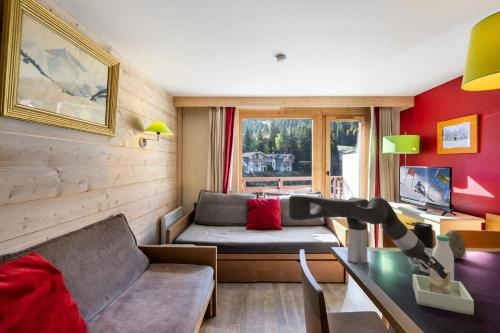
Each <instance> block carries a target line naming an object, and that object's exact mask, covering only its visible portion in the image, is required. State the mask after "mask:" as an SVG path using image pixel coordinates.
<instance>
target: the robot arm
mask: <svg viewBox="0 0 500 333" xmlns="http://www.w3.org/2000/svg"><path fill="white" fill-rule="evenodd" d="M311 204H314V205H316V206H315V207H313V208H312V209H311ZM288 216H289V218H290V219H291V220H293V221H307V220H313V219H314V220H315V219H329V218H330V219H333V218H346V223H347V227H348V228H347V230H348V232H347V240H348V241H347V261H348V262H350V263H354V264H366V263H368V224H371V225H380V224H381V229H382V231H383V232H384V234H386V235H387V236H388V238H390V240H391V241H392V242H393V243H394V245H395V246H396V247H397V248H398V249H399V250H400V251H401V252H402V253H403V255H405V257H407V258H408V257H409V258H411V260H414V261H416V262H417V263H418V264H419V263H420V265H421V266H422V267H423V268H424V269H426V270H427V269H428V268H432V269H433V270H434V271H435V272H436V273H437V274H438V275H439V276H440V277H441V278H442V279H445V278H446V277H447V276H448V275H447V274H446V273H445V271H444V269H445V268H444V267H443V266H442V265H441V264H440V263H439V262H438V261H437V260H436V259H435V258H434V257H433V256H432V257H430V256H429V254H428V253H426V252H424V250H425V246H424V244H423V243H422V242H421V241H420V240H419V239H418V238H417V237H416V235H415V234H414V233H413V232H414V231H412V230H411V229H409V228H408V227H407V226H406V225H405V224H404V222H402V220H400V219H399V217H398V215H397V214H396V212H395V210H394V209H393V206H391V204H390V203H389V202H388V201H387V200H386V199H385V198H383V197H379V196H374V197H371V198H370V199H369V200H368V199H365V198H360V197H350V198H348V199H343V198H335V197H334V198H333V197H331V198H329V197H324V196H323V197H321V196H315V195H307V194H294V195H293V194H291V195H290V196H289V198H288ZM367 223H368V224H367ZM428 263H429V264H430V265H429V264H428Z"/></svg>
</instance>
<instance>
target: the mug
mask: <svg viewBox="0 0 500 333" xmlns="http://www.w3.org/2000/svg"><path fill="white" fill-rule="evenodd" d="M433 250H434V248H433V249H431V248H425V250H424V252H426V253H428V254H429V256H430V257H432V253H433ZM407 261H408V263H409V265H411V266H413V267H419V270H420V272H423V273H425V274H430V268H428V269H427V270H426V269H424V268H423V267H422V266H421V265H420V263H418V264H414V263H413V262H412V258H409V257H407ZM428 264H429V263H428ZM429 265H430V264H429Z"/></svg>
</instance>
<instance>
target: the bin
mask: <svg viewBox="0 0 500 333" xmlns="http://www.w3.org/2000/svg"><path fill="white" fill-rule="evenodd" d="M412 289H413V291H414V296H415V300H416V304H417V305H420V306H424V307H431V308H434V309H435V308H436V309H440V310H445V311H450V312H454V313H458V314H459V313H460V314H466V315H470V316H475V315H474V314H475V313H474V312H475V306H474V305H475V304H474V303H475V302H474V299H473V297H472V296H471V294H470V293H469V292H468V290H467V288H466V287H465V286H464V284H463V283H462V282H461V281H460V280H459V281H457V280H454V281H453V280H451V284H450V295H446V294H441V293H435V292H430V276H427V275H422V274H420V275H419V274H414V273H412Z"/></svg>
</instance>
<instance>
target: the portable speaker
mask: <svg viewBox="0 0 500 333" xmlns="http://www.w3.org/2000/svg"><path fill="white" fill-rule="evenodd" d="M412 232H413V233H414V234H415V235H416V237H417V238H418V239H419V240H420V241H421V242H422V243H423V244H424V246H425V248H431V249H434V243H433V242H434V240H433V239H434V235H433V226H432V223H425V222H421V221H420V222H419V221H417V222H414V224H413V231H412Z"/></svg>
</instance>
